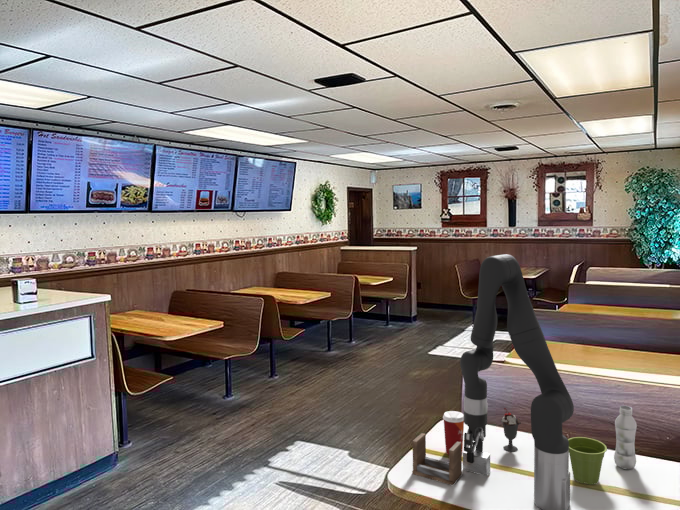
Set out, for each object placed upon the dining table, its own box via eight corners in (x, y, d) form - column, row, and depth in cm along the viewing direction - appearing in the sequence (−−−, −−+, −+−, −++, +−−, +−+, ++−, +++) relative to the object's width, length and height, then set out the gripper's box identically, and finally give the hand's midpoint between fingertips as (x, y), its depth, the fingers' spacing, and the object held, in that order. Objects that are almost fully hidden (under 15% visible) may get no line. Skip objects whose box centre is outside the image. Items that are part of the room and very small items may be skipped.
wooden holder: (462, 474, 169) (462, 441, 168) (452, 485, 163) (452, 451, 162) (422, 463, 177) (422, 432, 176) (412, 473, 170) (411, 441, 170)
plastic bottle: (613, 469, 170) (614, 410, 168) (613, 460, 176) (614, 402, 174) (636, 473, 167) (637, 413, 165) (635, 464, 173) (637, 405, 171)
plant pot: (574, 466, 172) (575, 433, 171) (612, 479, 164) (613, 444, 163) (558, 479, 165) (558, 445, 164) (597, 493, 156) (597, 457, 155)
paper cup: (465, 458, 180) (465, 419, 179) (442, 457, 181) (442, 418, 180) (464, 448, 187) (464, 410, 186) (443, 447, 189) (442, 409, 188)
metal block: (490, 471, 171) (490, 453, 170) (486, 476, 168) (486, 458, 167) (466, 465, 175) (466, 448, 175) (462, 469, 172) (462, 452, 172)
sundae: (496, 447, 188) (496, 406, 186) (510, 443, 190) (510, 403, 189) (509, 454, 182) (509, 413, 180) (524, 450, 185) (524, 409, 183)
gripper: (479, 419, 162) (478, 469, 164) (493, 404, 174) (492, 451, 175) (456, 414, 166) (455, 463, 168) (471, 400, 178) (471, 445, 180)
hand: (474, 456), depth 172 cm, fingers open, 8 cm apart
